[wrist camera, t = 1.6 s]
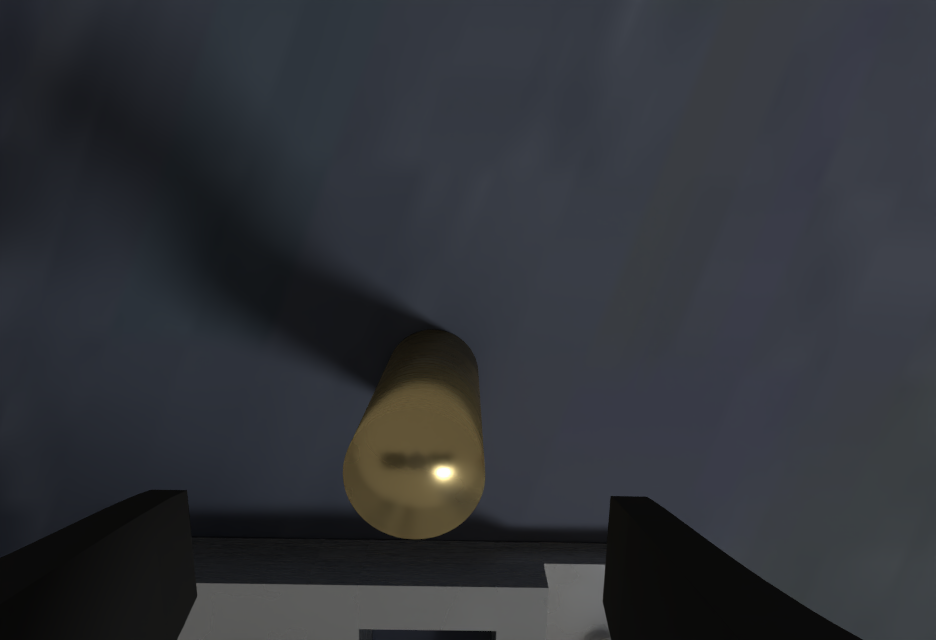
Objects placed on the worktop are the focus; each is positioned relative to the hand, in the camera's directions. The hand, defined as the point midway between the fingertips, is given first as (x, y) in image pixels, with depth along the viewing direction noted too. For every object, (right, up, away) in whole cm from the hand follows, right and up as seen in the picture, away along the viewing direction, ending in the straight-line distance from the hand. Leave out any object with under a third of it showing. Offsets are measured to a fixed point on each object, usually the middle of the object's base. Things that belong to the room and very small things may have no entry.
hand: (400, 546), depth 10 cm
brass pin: (0, +2, +9) cm, 9 cm away
